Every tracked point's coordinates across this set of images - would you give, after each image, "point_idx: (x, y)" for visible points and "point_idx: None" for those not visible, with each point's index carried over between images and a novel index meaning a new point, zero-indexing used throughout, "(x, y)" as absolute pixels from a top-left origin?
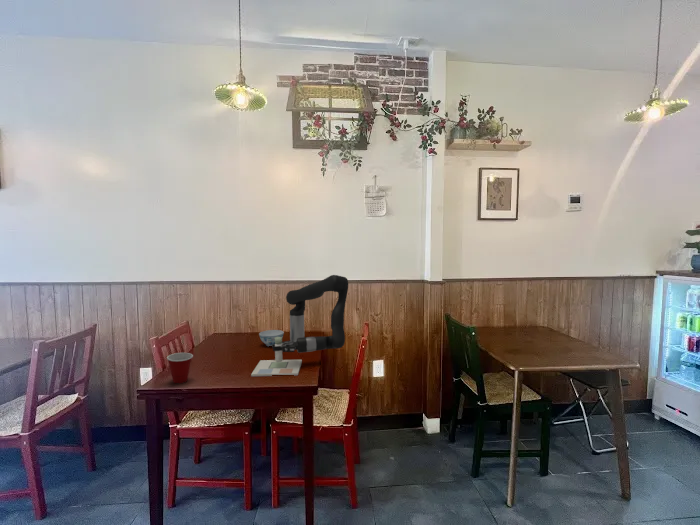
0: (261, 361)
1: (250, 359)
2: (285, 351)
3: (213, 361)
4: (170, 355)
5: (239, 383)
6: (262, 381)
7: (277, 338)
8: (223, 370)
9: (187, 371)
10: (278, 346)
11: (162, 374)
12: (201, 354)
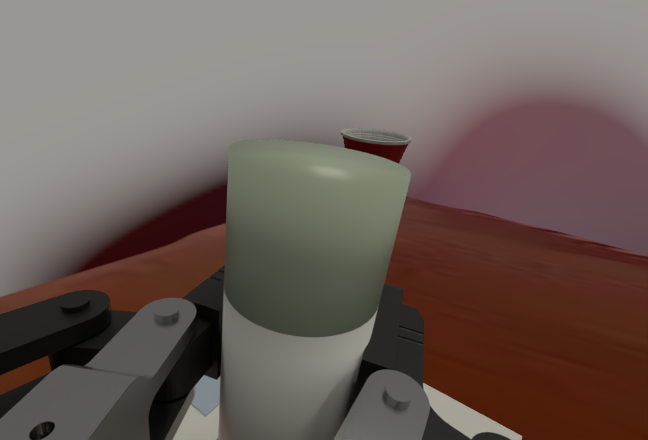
0: (483, 429)
1: (605, 413)
2: (25, 391)
3: (551, 280)
4: (394, 133)
5: (210, 251)
6: (118, 302)
7: (266, 141)
8: (409, 267)
9: None
10: (219, 281)
11: (436, 205)
12: None
